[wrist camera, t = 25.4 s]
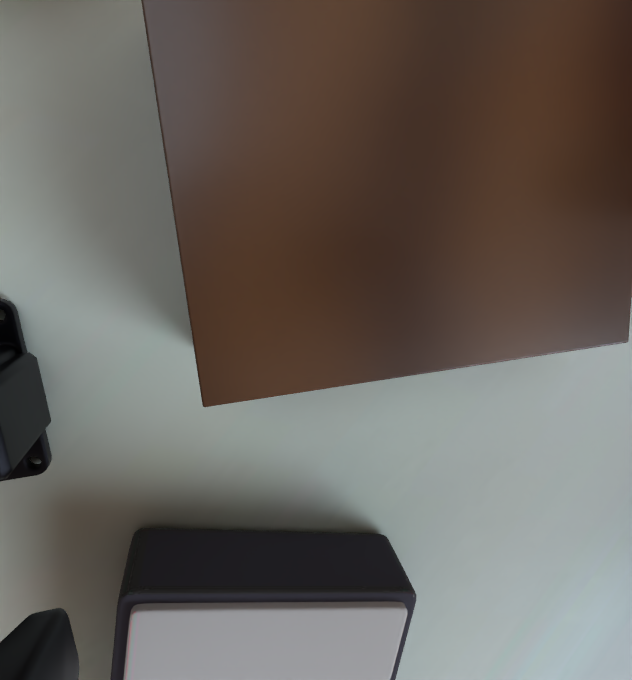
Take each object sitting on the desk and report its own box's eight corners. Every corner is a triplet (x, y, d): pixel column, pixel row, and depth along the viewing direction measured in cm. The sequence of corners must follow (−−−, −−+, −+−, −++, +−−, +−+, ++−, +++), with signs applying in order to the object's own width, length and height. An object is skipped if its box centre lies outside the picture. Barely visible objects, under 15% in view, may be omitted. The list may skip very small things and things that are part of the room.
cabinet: (524, 12, 19) (657, -74, 13) (520, 310, 22) (629, 342, 16) (155, 20, 17) (128, -83, 11) (204, 353, 19) (202, 408, 14)
